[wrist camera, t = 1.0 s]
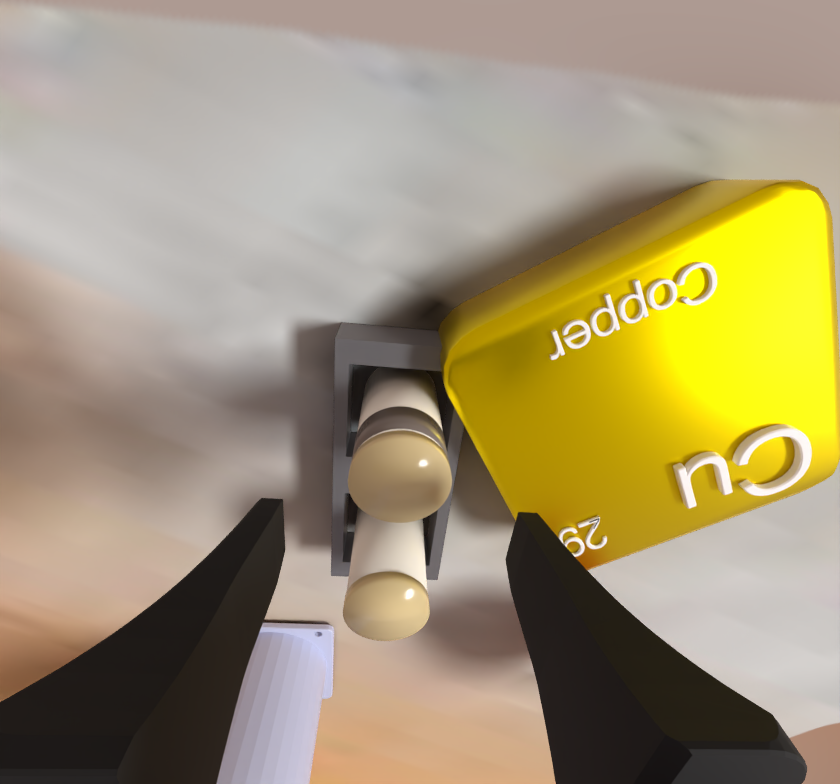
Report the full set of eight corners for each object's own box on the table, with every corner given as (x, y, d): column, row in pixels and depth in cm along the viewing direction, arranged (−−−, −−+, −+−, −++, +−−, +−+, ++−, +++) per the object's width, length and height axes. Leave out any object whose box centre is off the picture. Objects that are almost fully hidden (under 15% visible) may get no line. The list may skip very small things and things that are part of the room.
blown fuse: (361, 423, 22) (346, 520, 16) (365, 357, 20) (349, 436, 14) (432, 428, 22) (444, 525, 16) (441, 363, 21) (458, 443, 15)
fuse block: (336, 545, 26) (331, 575, 24) (341, 322, 20) (334, 338, 18) (434, 549, 26) (437, 579, 24) (469, 333, 20) (477, 350, 18)
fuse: (356, 525, 25) (342, 639, 19) (359, 475, 24) (344, 581, 17) (418, 528, 25) (424, 642, 19) (425, 478, 24) (434, 585, 18)
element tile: (741, 159, 18) (849, 153, 13) (778, 430, 24) (860, 485, 20) (419, 321, 20) (424, 359, 16) (528, 528, 26) (553, 595, 22)
